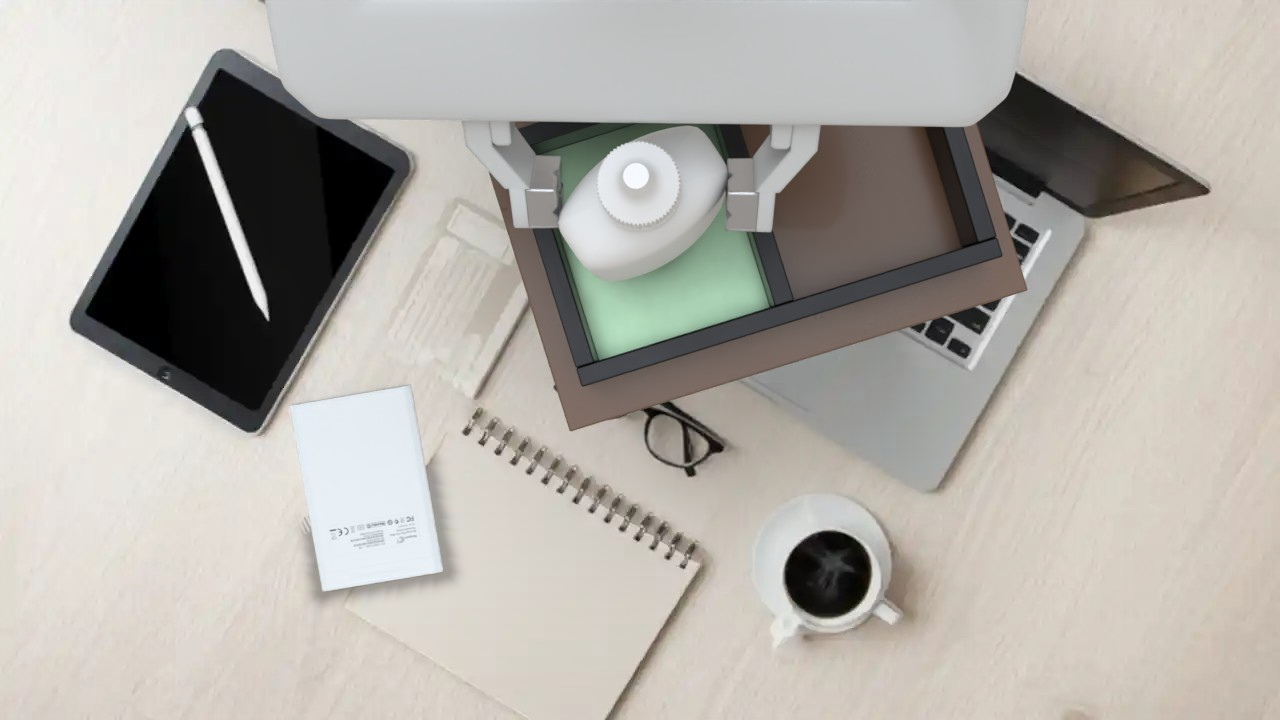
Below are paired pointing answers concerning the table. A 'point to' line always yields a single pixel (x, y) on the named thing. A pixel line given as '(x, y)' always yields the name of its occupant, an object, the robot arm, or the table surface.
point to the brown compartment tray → (767, 264)
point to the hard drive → (366, 488)
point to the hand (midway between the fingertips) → (644, 218)
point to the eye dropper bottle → (645, 203)
